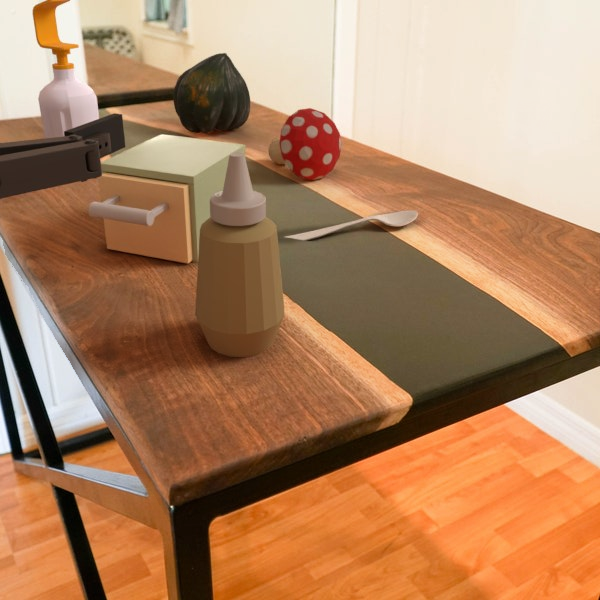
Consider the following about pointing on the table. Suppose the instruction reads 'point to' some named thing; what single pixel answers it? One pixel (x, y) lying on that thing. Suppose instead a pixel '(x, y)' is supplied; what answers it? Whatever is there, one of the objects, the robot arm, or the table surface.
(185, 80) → the squash
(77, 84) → the soap bottle
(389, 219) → the spoon
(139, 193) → the drawer
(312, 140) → the decorative mushroom
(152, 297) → the table surface
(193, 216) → the cabinet
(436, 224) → the table surface
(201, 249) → the squeeze bottle
